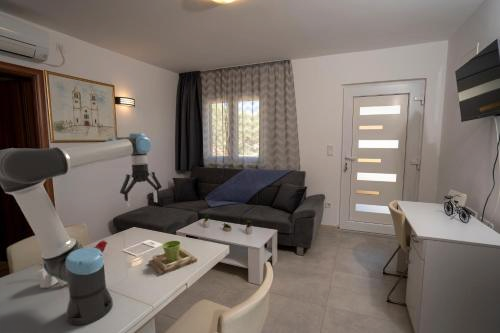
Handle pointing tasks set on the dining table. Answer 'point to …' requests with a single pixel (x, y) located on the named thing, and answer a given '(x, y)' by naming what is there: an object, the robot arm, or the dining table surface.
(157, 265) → the walnut pot stand
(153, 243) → the photo frame
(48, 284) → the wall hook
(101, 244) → the decorative bird figurine
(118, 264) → the dining table surface
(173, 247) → the plant pot
